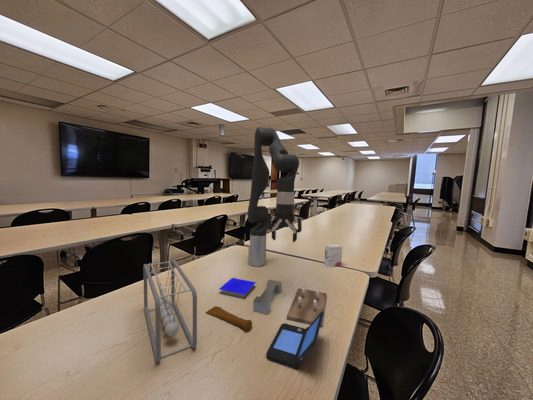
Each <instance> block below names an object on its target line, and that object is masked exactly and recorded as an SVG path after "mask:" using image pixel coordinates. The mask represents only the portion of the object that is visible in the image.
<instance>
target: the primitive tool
mask: <svg viewBox="0 0 533 400" xmlns="http://www.w3.org/2000/svg"><path fill="white" fill-rule="evenodd" d="M205 314H206V315H208V316H211V317H214V318H217V319H219V320H222V321H225V322H227V323H229V324H232V325H235V326H238V327H240V328H242V329H243V330H244V331H245V333H247V332H249V331H251V330H252V327H253V322H252V320H251V319H245V318H242V317H239V316H237V315H235V314H233V313H231V312H228V311H226V310H225V309H223V308H222V307H220V306H218V305H214V306H213V307H212V308H209V310H207V311H205Z"/></svg>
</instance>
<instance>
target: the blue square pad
mask: <svg viewBox="0 0 533 400" xmlns="http://www.w3.org/2000/svg"><path fill="white" fill-rule="evenodd" d="M256 283H257V282H256V281H252V280H251V281H250V280H245V279H241V278H235V277H231V278H230V279H229V280H228V281H226V282H225V283H224V284H223V285H222V286H220V287H219V290H221V294H225V295H228V296H233V297H237V298H242V299H244V298H245V297H246V296H247V295H248V294H249V293H250V292H251V291H252V290H253V288H255V287H254V286H255V284H256Z"/></svg>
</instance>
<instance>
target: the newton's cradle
mask: <svg viewBox="0 0 533 400" xmlns="http://www.w3.org/2000/svg"><path fill="white" fill-rule="evenodd" d="M162 264H163V265H164V264H169V266H168V267H165V269H166V268H168V271H166V273H167V272H168V274H167V276H165V278H166V277H167V278H166V279H167V280H166V284H165V285H166V286H165V288H164V287H162V284H163V283H165V281H162V282H160V278H161V279H162V278H163V276H162V277H158V274H159V272H158V273H157V272H156V270H157V268H154V266H156V265H162ZM142 266H143V268H142V269H143V273H142V274H143V303H144V304H143V308H144V314H145V319H146V323H147V328H148V332H149V333H148V334H149V337H150V342H151V345H152V350H153V351H152V352H153V356H154V359H155V362H156V363H159V362H160V361H161V358H163V357H166V356H169V355H172V354H174V353H176V352H179V351H182V350H185V349H188V348H190V347H191V348H192V349H195V348H196V347H197V344H198V324H197V323H198V294H197V290H196V288H195V286H194V285H193V284H192V282H191V281H190V280H189V278H188V277H187V275H186V274H185V272H184V271H183V270H182V268H181V267H180V265H179V264H178V262H177V260H175V258H172V260H169V261H164V262H157V263H151V264H150V263H149V264H147V263H144V264H143V265H142ZM150 266H151V268H152V272H153V273H154V276H155V279H156V282H157V287H158V290H159V294H160V296H159V294H158V291H157V288H156V286H155V283H154V281H153V278H152V274H151V272H150V269H149V267H150ZM160 269H161V270H162V269H163V267H160V268H159V270H160ZM175 269H176V270H177V271H178V273H179V275H180V276H181V277H182V279H183V281H184V283H185V284H186V285H187V287H188V288H189V289H186V287H185V285H184V284H183V282H182V281H181V279H180V277H179V275H178V274H177V273H176V271H175ZM162 273H165V271H162V272H161V274H162ZM170 273H171V274H170ZM168 277H170V280H169V278H168ZM175 277H176V278H177V279H176V278H175ZM175 281H176V282H179V283H180V284H178V283H176V284H175ZM168 282H169V285H168ZM148 284H149V287H150V291H151V293H152V297H153V300H154V308H150V309H149V307H148ZM177 286H179V289H178V291H177V292H176V290H177V288H176V287H177ZM181 286H182V288H183V289H184V290H182V291H181ZM167 288H171V292H170V293H169V291H170V289H168V291H167ZM166 291H167V293H168V294H166V293H165V292H166ZM186 292H190V293H191V294H192V335H191V333H190V330H189V328H188V326H187V323H186V322H185V319H184V317H183V315H182V314H181V311H180V309H179V307H178V300H179V298H177V300H176V298H175V297H176V295H177V297H179V296H180V294H184V293H186ZM168 297H169V299H168ZM172 308H173V309H174V311H173V309H172ZM153 310H155V312H154V314H155V316H154V317H155V319H154V322H155V333H154V327H153V325H152V319H151V316H150V311H153ZM176 316H177V318H178V320H179V321H180V324H181V326H182V328H183V331H184V333H185V334H184V335H186V338H187V340H188V342H189V344H190V345H186V346H184V347H181V348H178V349H175V350H173V351H171V352H168V353H165V354H162V345H161V343H162V342H161V339H162V338H161V335H162V334H161V321H162V326H163V327H164V328H165V329H164V332H165V334H166V335H167V336H169V337H174V336H176V334H177V333H178V332H179V329H180V326H179V323H178V322H177V318H176Z"/></svg>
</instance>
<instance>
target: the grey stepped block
mask: <svg viewBox="0 0 533 400" xmlns="http://www.w3.org/2000/svg"><path fill="white" fill-rule="evenodd" d="M281 291H282V281H280V280H274V279H268V281H267V282H266V288H265V289H264V290H263V292H262V293H261V295H260V296H258V295H257V296H256V297H255V298H254V299H253V301H252V302H253V304H252V312H255V313H259V314H264V315H268V314H269V312H270V311H271V304H272V301H273V299H274V298H275V296H276V295H280V293H281ZM275 294H276V295H275Z"/></svg>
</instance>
